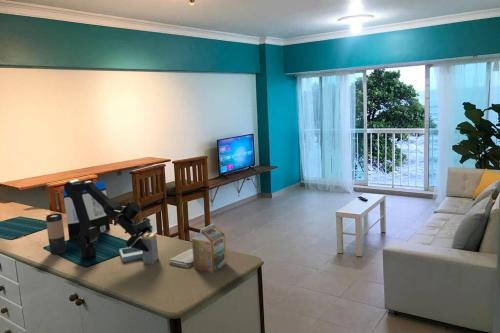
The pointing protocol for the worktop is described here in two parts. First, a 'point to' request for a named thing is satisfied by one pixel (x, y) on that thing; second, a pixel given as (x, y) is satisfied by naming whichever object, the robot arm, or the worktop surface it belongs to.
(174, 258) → the washcloth
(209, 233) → the milk carton
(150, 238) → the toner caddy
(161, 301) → the worktop surface
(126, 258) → the tray
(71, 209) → the protein powder
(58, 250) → the travel mug
